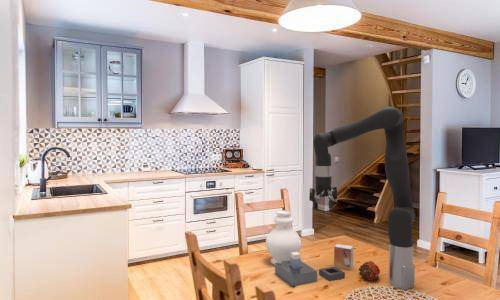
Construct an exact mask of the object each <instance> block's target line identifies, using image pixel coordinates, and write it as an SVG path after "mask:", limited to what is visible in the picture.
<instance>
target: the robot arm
mask: <svg viewBox="0 0 500 300" xmlns="http://www.w3.org/2000/svg"><path fill="white" fill-rule="evenodd" d="M404 118H405V117H404V114H403V112H402V111H401V109H399V108H398V107H394V106H385V107H382V109H380V110H378V111H376V112H374V113H372V114H371V115H368V116H366V117H364V118H362V119H359V120H356V121H352V122H349V123H346V124H344V125H341V126H338V127H336V128H334V129H333V130H331V131H327V132H318V133H316V134H315V136H314V138H313V148H314V154H315V173H314V174H315V177H314V178H315V179H314V182H315V188H312V187H310V188H309V202H312V208H313V210H314V211H318V210H319V200H320V199H321V198H325V197H326V198H328V209H331V210H332V209H333V208H334V201H335V200H337V199H338V187H337V186H334V185H333V184H332V183H333V182H332V179H333V178H332V177H333V176H332V174H333V172H332V156H331V154H330V153H329V148H330V147H333V146H335V145H337V144H340V143H344V142H347V141H349V140H350V141H351V140H353V139H355V138H358V137H360V136H362V135H365V134H366V133H369V132H373V131H376V130H381V129H382V130H383V129H384V134H385V142H386V143H385V151H384V169H385V176H386V180H387V181H388V185H389V187H390V190H391V192H392V200H393V201H392V202H393V209H391V210H390V212H389V213H388V217H387V231H388V239H389V244H388V245H389V246H388V247H389V251H388V254H389V255H388V283H389V284H390V285H391V286H393V287H394V288H398V289H401V290H408V289H412V288H413V289H414V288H415V282H416V281H415V276H416V275H415V274H416V273H415V272H416V266H415V264H414V238H413V235H412V230H413V229H412V228H413V227H412V225H413V224H414V223H415V220H416V213H415V209H414V203H413V200H412V194H411V179H410V178H411V177H410V168H409V160H408V155H407V154H408V153H407V149H406V148H407V146H406V144H405V134H404V131H405V130H404V127H405V125H404V123H405V122H404ZM332 185H333V186H332Z"/></svg>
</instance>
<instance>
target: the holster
mask: <svg viewBox="0 0 500 300" xmlns="http://www.w3.org/2000/svg"><path fill="white" fill-rule="evenodd" d="M318 275H319V276H320V277H322V278H324V279H326V280H327V281H328V282H331V281H332V282H333V281H338V280H342V279H343V280H344V279H345V277H346V272H345V271H343V270H341V269H340V268H336V267H334V265H332V266H329V267H328V266H327V267H322V268H319V269H318Z"/></svg>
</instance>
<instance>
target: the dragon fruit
mask: <svg viewBox="0 0 500 300" xmlns="http://www.w3.org/2000/svg"><path fill="white" fill-rule="evenodd" d="M358 271H359V273H358V274H359V276H361V277H362V278H363V279H364V280H367V281H378V279H379V275H380V272H381V270H380V267H379V266H378V265H377V264H376V263H375V262H374V261H371V260H369V261H366V262H364V263H363V264H362V265H360V266H359V267H358Z"/></svg>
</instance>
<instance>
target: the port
mask: <svg viewBox="0 0 500 300" xmlns="http://www.w3.org/2000/svg"><path fill="white" fill-rule="evenodd" d="M290 264H291V260H289V261H283V262H277V263H275V265H274V274H275V275H276V276H277V277H278V278H280V279H281V280H282V281H284V282H285V283H287V285H289V286H291V287H292V288H296V287H297V286H301V285H306V284H311V283H316V282H318V270H317V269H315V268H313V267H311V266H310V265H308V264H307V263H305V262H303V261H302V260H300V268H298V269H292V268H291V267H290Z"/></svg>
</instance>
